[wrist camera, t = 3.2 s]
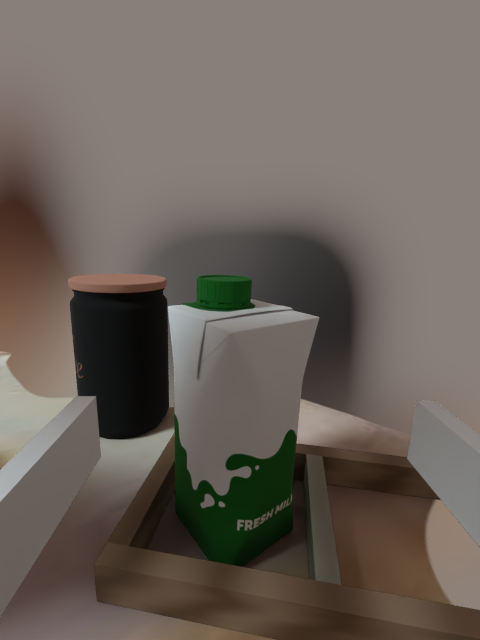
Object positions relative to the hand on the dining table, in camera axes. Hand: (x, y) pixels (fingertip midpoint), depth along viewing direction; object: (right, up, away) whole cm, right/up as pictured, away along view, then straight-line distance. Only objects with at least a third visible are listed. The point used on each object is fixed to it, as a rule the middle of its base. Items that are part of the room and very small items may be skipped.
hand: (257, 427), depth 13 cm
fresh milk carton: (-1, -13, +13) cm, 18 cm away
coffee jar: (-15, -8, +28) cm, 33 cm away
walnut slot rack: (+5, -13, +12) cm, 19 cm away
